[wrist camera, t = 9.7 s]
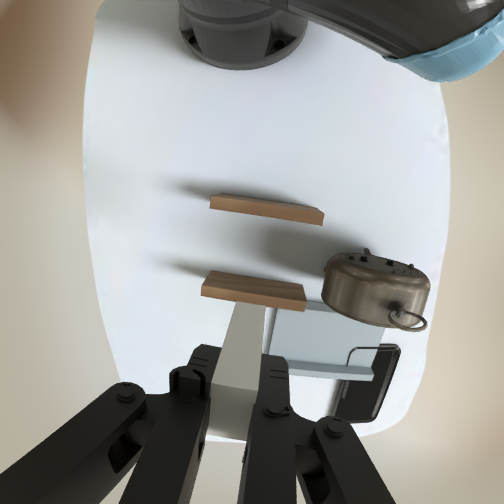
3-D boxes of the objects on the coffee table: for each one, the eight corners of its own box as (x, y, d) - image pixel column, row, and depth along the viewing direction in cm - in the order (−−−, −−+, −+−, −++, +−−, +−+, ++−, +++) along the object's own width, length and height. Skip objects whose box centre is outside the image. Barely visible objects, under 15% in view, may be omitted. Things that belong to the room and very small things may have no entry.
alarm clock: (312, 280, 35) (338, 357, 19) (321, 236, 34) (359, 286, 18) (394, 291, 35) (456, 361, 19) (405, 251, 33) (480, 301, 18)
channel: (220, 193, 33) (211, 196, 28) (317, 208, 33) (324, 213, 28) (210, 280, 36) (200, 295, 31) (300, 294, 36) (304, 312, 31)
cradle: (279, 297, 36) (279, 305, 33) (388, 311, 35) (395, 319, 33) (266, 360, 38) (266, 371, 36) (367, 370, 38) (371, 380, 35)
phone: (402, 346, 36) (374, 422, 39) (400, 342, 37) (373, 417, 40) (350, 347, 36) (328, 424, 40) (348, 342, 37) (327, 419, 41)
